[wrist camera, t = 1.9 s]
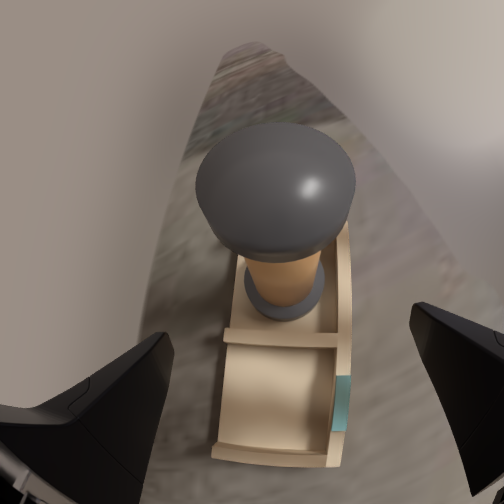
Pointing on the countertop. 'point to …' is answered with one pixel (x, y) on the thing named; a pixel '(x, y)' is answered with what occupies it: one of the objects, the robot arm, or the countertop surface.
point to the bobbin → (278, 209)
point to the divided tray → (289, 375)
